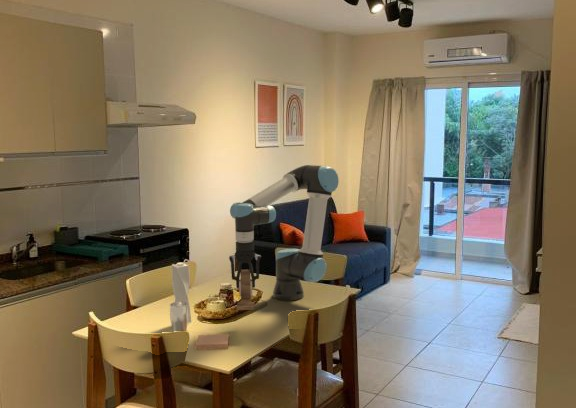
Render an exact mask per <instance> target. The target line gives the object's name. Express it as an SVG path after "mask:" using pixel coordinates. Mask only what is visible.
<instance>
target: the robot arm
mask: <svg viewBox="0 0 576 408" xmlns="http://www.w3.org/2000/svg"><path fill="white" fill-rule="evenodd" d="M338 186H339V176H338V173H337V170H336V169H334V168H333V167H331V166H326V165H315V164H314V165H313V164H306V165H302V166H299V167H296V168H294V169H293V170H291V171H289V172H287V173H286V174H284V175H283V177H282V178H281V179H279V180H278V181H276V182H274V183H273V184H271V185H269V186H268V187H266V188H264V189H263V190H261V191H260V192H257V193H256V194H253V195H252V196H251V197H249V198H247V199H246V200H244V201H242V202H234V203H232V204H231V206H230V208H229V213H230V217H232V219H234V225H235V232H234V233H235V252H234V254H232V255H229V257H228V259H229V262H230V268H231V269H230V271H231V273H230V274H231V280H232V281H233V280H234V281H235V283H236V289H238V291H239V293H238V295H239V297H241V270H242V267H243V264H247V265H248V268H249V269H250V289H251V297H253V288H254V289H255V288H256V281H257V280H259V279H260V261H261V259H262V256H261V254H257V253H256V252H255V243H254V239H255V237H254V236H255V231H254V228H255V226H258V225H259V226H260V225H264V224H265V225H266V224H270V223H273V222H274V221H275V220H276V217H277V211H276V209H275V207H274V206H273V204H274V203H276V202H277V201H279V200H280V199H282V198H283V197H285V196H287V195H289V194H291V193H296V192H298V191H299V190H300V191H301V190H306V194H307V195H308V197H309V198H308V205H307V213H306V218H305V219H306V220H305V225H304V233H303V241H302V246H301V248H286V249H281V250H278V251H277V252H276V253H275V277H276V279H275V284H274V287H273V289H272V290H273V291H272V297H273V298H274V299H276V300H278V301H279V300H280V301H296V300H301V299H303V298H304V297H305V291H304V288H303V284H302V282H301V280H303V281H306V282H309V283H317V282H319V281H320V280H321V279H323V278H324V276H325V275H326V273H327V272H326V271H327V269H328V268H327V265H328V264H327V262H326V260H325V259H324V257H323V256H324V253H323V251H322V249H321V248H322V241H323V234H324V228H325V219H326V213H327V205H328V200H329V199H330V198H331V197H332V194H333V193H334V191H336V190H337V188H338ZM235 258H236V259H235ZM254 258H255V260H256V261H255V262H256V263H255V264H256V265H255V269H256V270H255V271H256V272H254V268H253V264H252V261H253V260H254ZM235 260H237V261H238V268H237V271H236V272H237V273H236V272H235ZM249 269H248V270H249ZM235 273H236V274H235Z"/></svg>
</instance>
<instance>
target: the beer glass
mask: <svg viewBox="0 0 576 408" xmlns="http://www.w3.org/2000/svg"><path fill="white" fill-rule="evenodd" d="M169 319H170V324H171V325H170V326H171V329H172V332H173V331H187V330H188V325H187V323H188V308H187V303H186V302H182V301H178V302H175V301H174V302H171V303H169ZM187 332H188V331H187Z"/></svg>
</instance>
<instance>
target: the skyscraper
mask: <svg viewBox="0 0 576 408" xmlns="http://www.w3.org/2000/svg"><path fill="white" fill-rule="evenodd" d="M186 261H187V264H186V263H185V262H186ZM190 273H191V272H190V260H189V259H186V258H185V259H184V260H183V262H177V263H176V264H175V263H172V264H171V284H172V291H173V296H174V302H178V301H182V302H186V303H187V308H188V323H187V326H188V325H189V324H190V323H191V322H192V314H191V306H190V301H189V299H190V298H189V291H190V285H191V284H190V283H191V274H190Z"/></svg>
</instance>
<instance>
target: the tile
mask: <svg viewBox="0 0 576 408" xmlns="http://www.w3.org/2000/svg"><path fill="white" fill-rule="evenodd" d="M229 340H230V334H229V333H222V334H221V333H219V334H217V333H216V334H198V335H197V337H196V343H195V350H215V349H216V350H217V349H228V348H229V347H228V346H229Z"/></svg>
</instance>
